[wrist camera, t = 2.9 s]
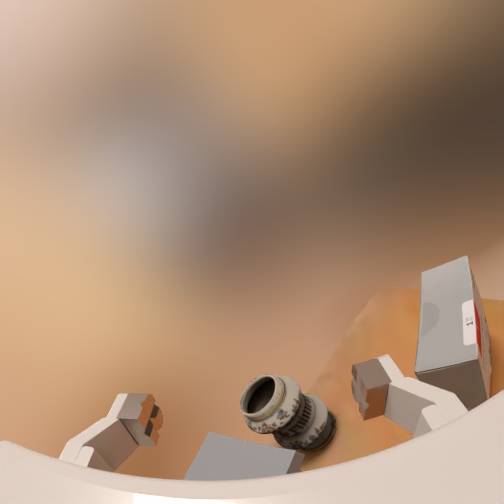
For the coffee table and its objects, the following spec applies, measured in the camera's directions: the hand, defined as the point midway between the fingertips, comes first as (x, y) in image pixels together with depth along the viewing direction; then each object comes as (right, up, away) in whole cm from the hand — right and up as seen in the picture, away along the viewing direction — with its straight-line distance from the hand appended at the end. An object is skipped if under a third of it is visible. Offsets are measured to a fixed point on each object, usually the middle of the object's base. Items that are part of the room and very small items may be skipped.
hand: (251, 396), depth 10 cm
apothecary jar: (+13, -30, +38) cm, 50 cm away
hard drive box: (+35, -15, +21) cm, 44 cm away
